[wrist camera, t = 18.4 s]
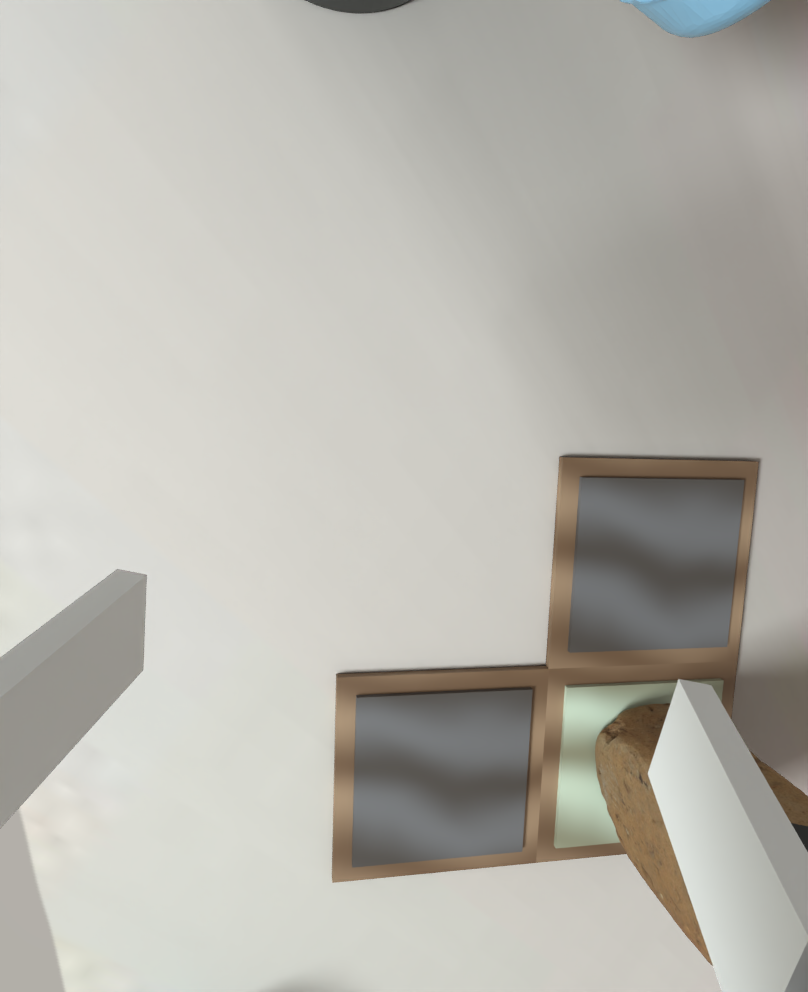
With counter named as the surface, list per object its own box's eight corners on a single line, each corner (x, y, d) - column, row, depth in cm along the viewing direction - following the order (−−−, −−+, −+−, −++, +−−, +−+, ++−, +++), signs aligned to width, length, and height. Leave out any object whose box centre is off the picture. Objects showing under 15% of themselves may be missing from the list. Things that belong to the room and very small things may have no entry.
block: (586, 705, 48) (798, 916, 28) (681, 686, 49) (948, 875, 29) (596, 841, 49) (802, 1128, 30) (688, 819, 51) (943, 1081, 31)
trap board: (341, 452, 43) (342, 453, 42) (752, 461, 48) (762, 462, 47) (332, 876, 47) (333, 886, 46) (712, 839, 52) (721, 848, 52)
